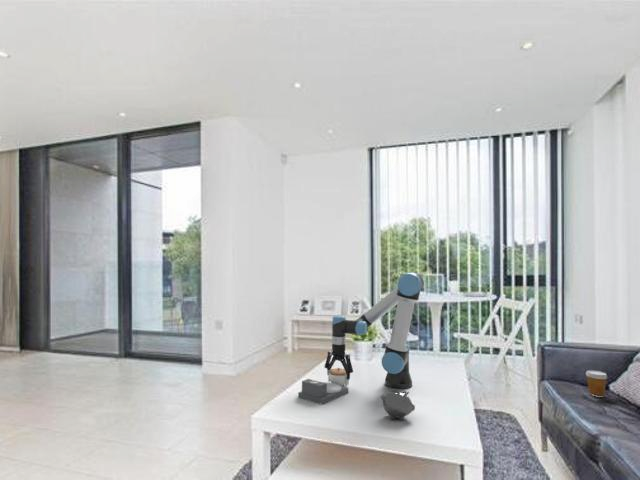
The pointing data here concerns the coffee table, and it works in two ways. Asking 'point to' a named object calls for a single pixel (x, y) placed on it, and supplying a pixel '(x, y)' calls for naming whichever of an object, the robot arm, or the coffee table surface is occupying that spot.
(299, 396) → the scale
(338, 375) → the lidded jar
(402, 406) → the piggy bank
